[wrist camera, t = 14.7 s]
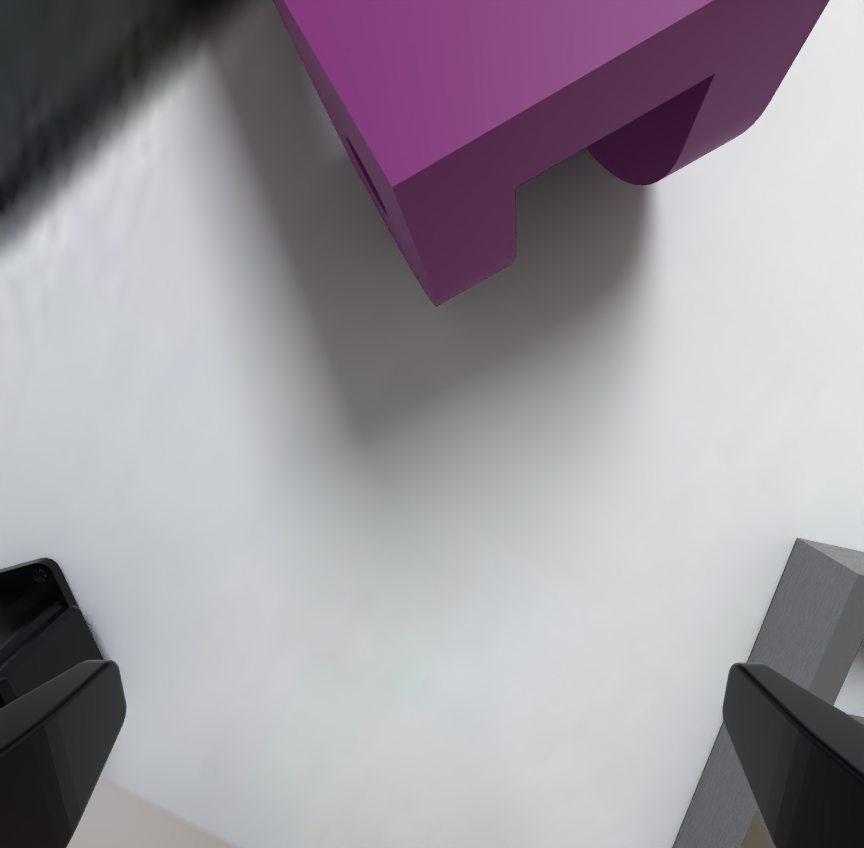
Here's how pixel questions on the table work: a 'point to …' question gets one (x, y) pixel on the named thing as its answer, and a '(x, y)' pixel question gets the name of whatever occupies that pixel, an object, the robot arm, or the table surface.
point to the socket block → (798, 661)
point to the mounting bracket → (529, 101)
